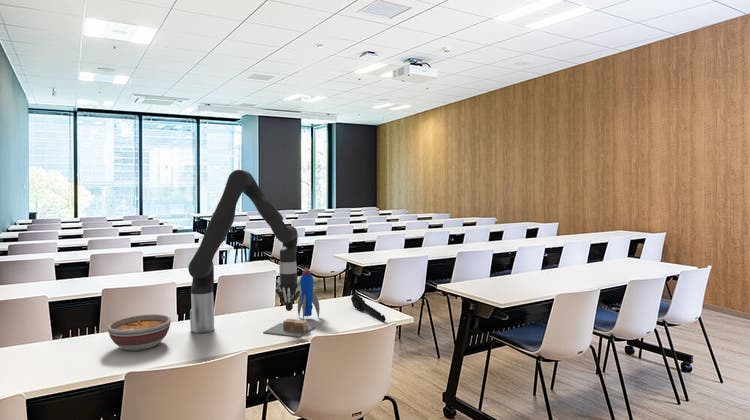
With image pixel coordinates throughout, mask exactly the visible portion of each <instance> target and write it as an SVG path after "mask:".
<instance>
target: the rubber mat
mask: <svg viewBox="0 0 750 420" xmlns="http://www.w3.org/2000/svg"><path fill="white" fill-rule="evenodd" d="M314 329H316V326H313V325H308V330H307V331H305V332H295V331H287V330H283V322H280V323H277V324H275V325H274V326H272V327H270V328H268V329H266V330H264V331H262V332H263V333H262V334H266V335H267V334H268V335H275V336H284V337H292V338H294V337H295V338H301V337H303V336H305V335H306V334H308V333H310V332H311V331H313V330H314Z"/></svg>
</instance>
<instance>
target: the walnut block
mask: <svg viewBox="0 0 750 420" xmlns="http://www.w3.org/2000/svg"><path fill="white" fill-rule="evenodd" d="M282 323H283V330H287V331H295V332H305V331H307V330H308V326H309V322H308V320H305V319H304V320H303V319H294V318H286V319H285V320H283V321H282Z"/></svg>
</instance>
